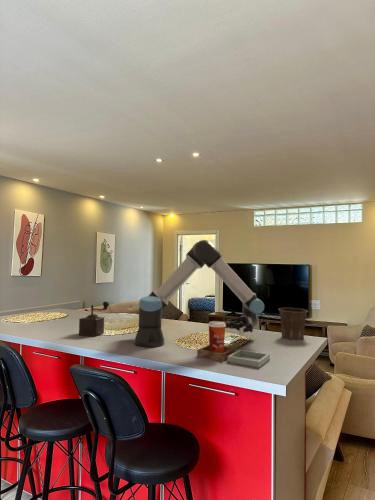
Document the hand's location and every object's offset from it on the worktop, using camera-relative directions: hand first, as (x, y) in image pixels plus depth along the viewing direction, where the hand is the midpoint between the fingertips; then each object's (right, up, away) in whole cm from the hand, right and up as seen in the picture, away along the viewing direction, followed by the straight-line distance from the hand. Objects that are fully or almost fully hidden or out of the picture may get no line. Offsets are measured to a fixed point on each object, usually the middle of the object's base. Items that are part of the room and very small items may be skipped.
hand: (226, 329), depth 165 cm
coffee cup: (-6, -10, -10) cm, 15 cm away
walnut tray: (-6, -9, -10) cm, 15 cm away
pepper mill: (-73, -10, +31) cm, 79 cm away
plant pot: (+42, -12, +32) cm, 54 cm away
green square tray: (+7, -9, -17) cm, 21 cm away
